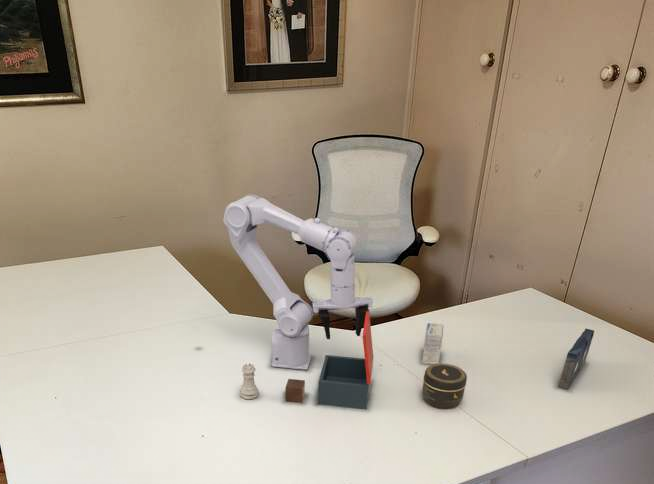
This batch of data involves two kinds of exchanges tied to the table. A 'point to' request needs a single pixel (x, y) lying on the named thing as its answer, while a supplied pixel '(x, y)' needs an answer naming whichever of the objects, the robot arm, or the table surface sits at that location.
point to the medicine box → (432, 343)
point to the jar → (443, 386)
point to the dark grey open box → (343, 382)
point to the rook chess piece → (248, 383)
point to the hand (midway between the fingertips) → (342, 336)
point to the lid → (368, 347)
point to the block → (295, 390)
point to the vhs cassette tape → (576, 359)
